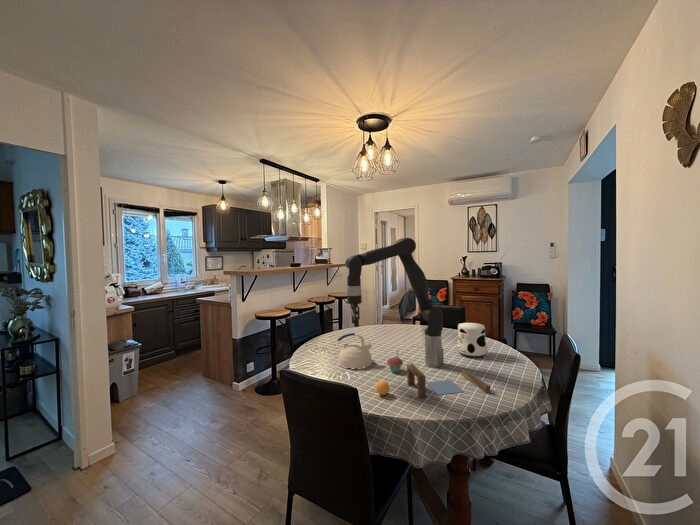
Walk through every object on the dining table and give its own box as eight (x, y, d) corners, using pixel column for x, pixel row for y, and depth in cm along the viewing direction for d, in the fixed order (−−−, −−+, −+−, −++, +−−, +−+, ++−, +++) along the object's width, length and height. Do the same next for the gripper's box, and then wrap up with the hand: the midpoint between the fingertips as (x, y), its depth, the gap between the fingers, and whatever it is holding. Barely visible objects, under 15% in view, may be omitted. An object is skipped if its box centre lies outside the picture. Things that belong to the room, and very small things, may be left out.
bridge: (413, 383, 145) (412, 363, 144) (426, 397, 130) (425, 375, 130) (407, 384, 144) (406, 364, 144) (419, 398, 129) (418, 376, 129)
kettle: (370, 370, 163) (369, 338, 163) (334, 369, 167) (332, 337, 167) (374, 358, 183) (373, 329, 182) (342, 356, 187) (341, 328, 187)
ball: (387, 390, 138) (387, 378, 138) (391, 396, 132) (390, 383, 132) (374, 392, 137) (374, 379, 137) (378, 398, 131) (377, 384, 131)
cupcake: (401, 367, 166) (400, 346, 165) (404, 373, 157) (403, 351, 157) (386, 368, 165) (385, 346, 165) (388, 374, 157) (387, 351, 157)
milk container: (451, 352, 188) (450, 324, 188) (472, 348, 194) (471, 321, 194) (471, 360, 172) (470, 330, 172) (493, 356, 178) (493, 326, 178)
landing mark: (450, 380, 147) (450, 379, 147) (464, 391, 134) (464, 391, 134) (425, 383, 145) (425, 382, 145) (437, 395, 132) (437, 394, 132)
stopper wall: (465, 375, 152) (465, 369, 152) (490, 392, 132) (490, 386, 132) (462, 375, 152) (462, 369, 152) (486, 393, 132) (486, 386, 132)
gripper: (363, 295, 148) (364, 327, 149) (359, 292, 162) (359, 321, 163) (349, 296, 147) (350, 328, 147) (345, 293, 161) (346, 322, 162)
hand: (355, 325), depth 155 cm, fingers open, 8 cm apart
